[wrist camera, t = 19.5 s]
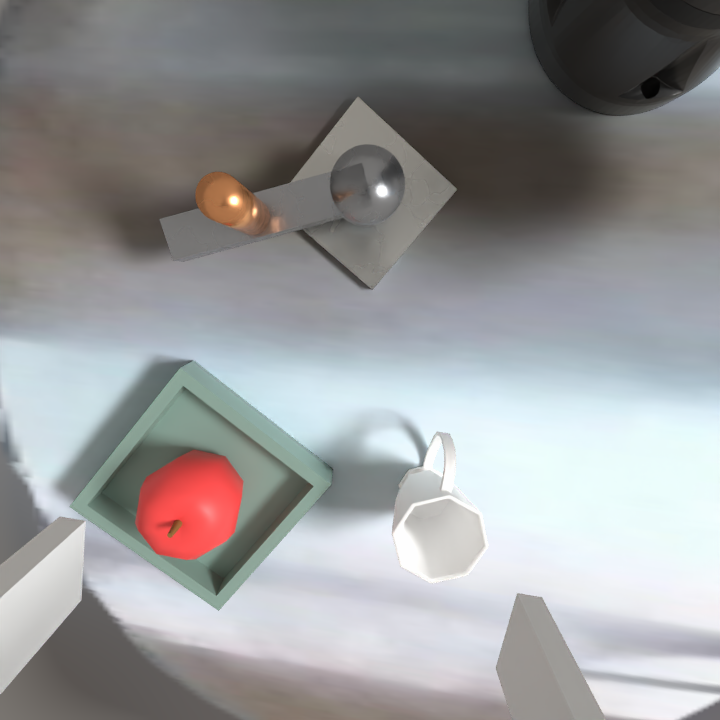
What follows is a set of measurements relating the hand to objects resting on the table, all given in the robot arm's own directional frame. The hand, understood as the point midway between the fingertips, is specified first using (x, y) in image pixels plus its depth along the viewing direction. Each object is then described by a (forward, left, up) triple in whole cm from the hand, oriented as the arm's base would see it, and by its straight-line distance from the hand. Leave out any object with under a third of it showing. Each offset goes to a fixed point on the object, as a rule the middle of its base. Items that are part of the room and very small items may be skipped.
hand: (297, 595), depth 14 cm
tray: (+13, -3, -25) cm, 28 cm away
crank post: (-14, -8, -25) cm, 29 cm away
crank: (-9, -11, -21) cm, 26 cm away
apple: (+13, -3, -24) cm, 28 cm away
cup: (0, +11, -25) cm, 27 cm away
